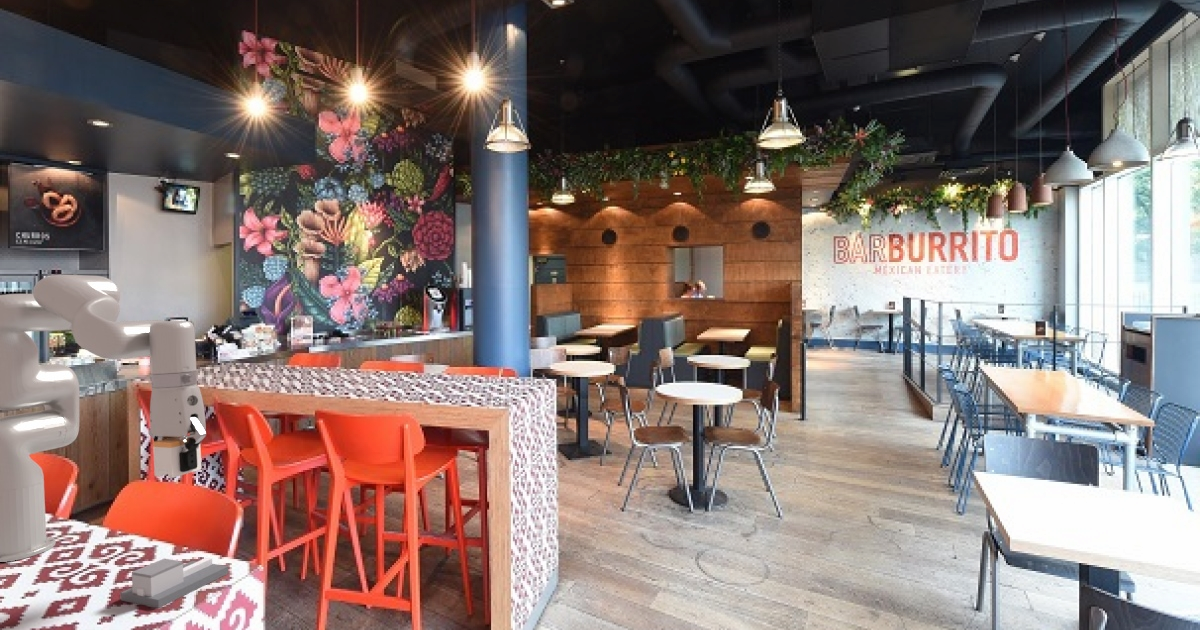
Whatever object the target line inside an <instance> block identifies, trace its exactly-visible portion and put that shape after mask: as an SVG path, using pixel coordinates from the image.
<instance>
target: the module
mask: <svg viewBox="0 0 1200 630" xmlns="http://www.w3.org/2000/svg"><path fill="white" fill-rule="evenodd" d="M189 440H190V438H188V439H186V442H187V443H188V442H189ZM152 445H153V446H152V447H153V448H152V449H153V451H152V452H153V469H154V471H153V473H154V477H162V476H163V477H164V476H168V477H167V478H170V479H174V478H176V477H177V478H178V477H180V476H183V475H186V474H190V473H194V472H197V471H201V470H202V468H203V467H202V453H201V450H202V449H201V443H200V444H199V448H198V449H197V468H196V469H192V470H189V471H186V472H181V471H180V456H179V453H180V452H182V450H181V446H180V442H179V438H173V437H172V438H167V439H164V440H159V441H154V440H153V442H152Z"/></svg>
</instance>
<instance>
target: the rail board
mask: <svg viewBox="0 0 1200 630" xmlns="http://www.w3.org/2000/svg"><path fill="white" fill-rule="evenodd" d="M228 574H229V565H224V564H223V565H221V564H215V563H213V558H210V557H205V558H203V559H200V560H190V561H189V562H187V563H184V562H183V561H182V560H181V561H180V560H175V559H171V558H162V559H160V560H157V561H155V562H153V563H150V564H148V565H146V566H143V567H141V568H138V569H136V570H134V571H132V572H131V583H132V585H131V586H132V587H130V588H128V589H126V590H123V591H121V592H120V601H121V602H127V603H132V604H137V605H141V606H142V605H143V606H148V607H152V608H158V609H159V608H162V607H163V606H165V605H168V604H170V603H171V602H172V603H173V602H175V600H178V599H180V598H182V597H184V596H185V595H188V594H190V593H192V592H194V591H196V590H198V589H200V588H202V587H204V586H206V585H208V584H210V583H212V582H214V581H216V580H218V579H221V578H222V577H224V576H226V575H228Z"/></svg>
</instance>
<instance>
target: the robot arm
mask: <svg viewBox="0 0 1200 630" xmlns="http://www.w3.org/2000/svg"><path fill="white" fill-rule="evenodd" d="M120 292H121V291H120V289H119V287H118V286H117V284H116V283H115V282H114V281H113V280H111V278H108V277H105V276H101V275H84V274H83V275H81V274H53V275H48V276H46V277H44V278H42V279H40V280H39V281H37V282H36V283H35V285H34V286H33V289H32V293H9V294H0V411H13V410H23V409H29V408H35V407H41V406H42V407H44V410H40V411H38V410H37V411H31V412H24V413H18V414H12V415H6V416H1V417H0V562H6V563H8V562H7V561H11V562H15V560H16V561H20V560H23V559H24V560H25V559H27V558H31V557H34V556H38V555H39V554H41V553H42V554H43V553H44V552H47V551H49V550H50V549H52V548H53V547H54V546H56V541H57V540H56V537H55V538H54V537H52V536H47V523H46V503H45V502H46V501H45V480H44V479H45V478H44V472H43V468H42V467H41V466H40V465H39V464H38V463H37V462H35V460H33V459H32V458H31V456H30V455H33V454H36V453H41V452H46V451H50V450H54V449H58V448H63V447H66V446H69V445H70V444H72V443H74V442H75V440H76V439H77V437H78V435H79V431H80V382H79V378H78V376H77V374H76V372H75V371H74V370H73V369H72V368H71V367H69V366H67V365H64V364H58V363H57V364H56V363H55V364H54V363H53V364H42V365H40V363H39V346H37V343H36V342H35V341H34V340H33V338H32V337H30V335H29V334H27V333H26V332H51V331H52V332H53V331H54V332H55V331H70V330H71V333H72V336H73V338H74V341H75V343H76V344H77V345H78V346H79V347H81V348H82V349H84V350H85V351H87V352H89V353H91V354H93V355H95V356H97V357H99V358H102V359H105V360H106V359H107V360H122V359H123V360H125V359H133V358H134V359H135V358H146V357H149V359H150V360H149V362H150V380H151V395H150V404H149V425H150V426H149V427H150V428H149V430H148V435H149V436H150V437H151V438H152V440H153V442H154V441H159V440H164V439H168V438H172V437H173V438H179V442H180V446H181V450H182V452H180V453H179V456H180V471H181V472H186V471H189V470H192V469H196V468H197V449H198V448H199V444H200V445H201V442H202V441H203V440H204V438H206V436H207V432H206V429H207V428H206V426H207V425H206V414H205V407H204V406H205V405H204V400H203V396H202V392H201V389H200V386H198V376H197V355H196V353H197V352H196V333H195V331H196V330H195V326H194V324H193V323H192V322H191V321H188V320H167V321H166V320H158V319H157V320H124V321H117V320H118V318H119V316H120V310H121V309H120V305H119V302H120V298H121V293H120ZM188 438H190V440H189V442H188V443H187V442H186V439H188Z"/></svg>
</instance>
